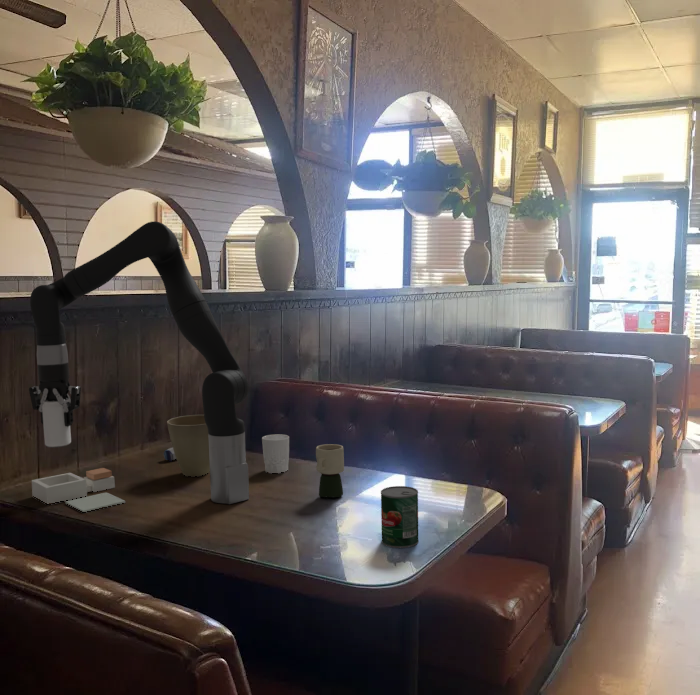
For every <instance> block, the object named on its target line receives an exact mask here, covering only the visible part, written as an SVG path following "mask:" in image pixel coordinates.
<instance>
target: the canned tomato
mask: <svg viewBox="0 0 700 695" xmlns="http://www.w3.org/2000/svg"><path fill="white" fill-rule="evenodd" d="M380 505H381V506H380V508H381V509H380V510H381V511H380V515H381V516H380V518H381V519H380V520H381V521H380V523H381V543H382V545H384V546H386V547H388V548H393V549H407V548H412V547H415V546H416V545H417V544H419V490H418V489H417V488H415V487H412V486H405V485H395V486H388V487H384V488H382V489H381V490H380Z"/></svg>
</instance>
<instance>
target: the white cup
mask: <svg viewBox="0 0 700 695" xmlns="http://www.w3.org/2000/svg"><path fill="white" fill-rule="evenodd" d="M261 442H262V454H263V463H264V468H265V470H264V471H265V473H267V472H269V473H268V474H272V473H278V474H282V473H281V472H284V473H286V472H285V471H287V470H288V471H289V462H290V461H289V460H290V459H289V458H290V436H289V435H287V434H281V433H279V434H275V433H274V434H267V435H264V436H262V437H261ZM288 471H287V472H288Z"/></svg>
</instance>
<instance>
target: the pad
mask: <svg viewBox="0 0 700 695" xmlns="http://www.w3.org/2000/svg"><path fill="white" fill-rule="evenodd" d="M64 502H65V505H67V504H68V505H67V506H69V505H70V506H69V507H71V506H72V507H71V508H73V507H74V508H76V509H78V510H80V511H82V512H86V513H88V512H87V511H91V510H95V509H99V508H102V507H107V508H109V507H108V506H111V507H113V506H112V505H116V506H118V505H117V504H120V505H123V504H122V503H124V504H126V500H124V499H122V498H120V497H118V496H115V495H113V494H111V493H109V492H102V493H97V494H93V495H87V496H86V497H82V498H77V499H73V500H68V501H64ZM74 508H73V509H74ZM76 509H75V510H76ZM78 510H77V511H78ZM99 510H100V509H99ZM80 511H79V512H80ZM95 511H96V510H95ZM82 512H81V513H82ZM91 512H92V511H91Z"/></svg>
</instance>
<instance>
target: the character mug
mask: <svg viewBox="0 0 700 695" xmlns="http://www.w3.org/2000/svg"><path fill="white" fill-rule="evenodd" d="M344 450H345V449H344V446H343V445H341V444H336V443H334V444H331V443H329V444H328V443H326V444H320V445H317V446H316V447H315V458H316V467H315V468H316V471H317V472H318V473H319V474H320V479H319V487H318V496H319V497H320V498H321V497H322V498H323V497H324V498H327V499H330V498H339V497H342V496H343V495H344V490H343V489H344V488H343V482H342V476H341V474H340V473H342V472H344V470H345V458H344V457H345V453H344V452H345V451H344Z"/></svg>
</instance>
